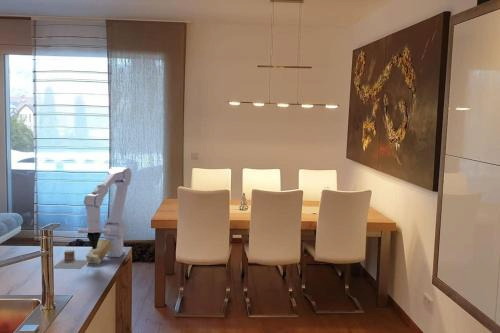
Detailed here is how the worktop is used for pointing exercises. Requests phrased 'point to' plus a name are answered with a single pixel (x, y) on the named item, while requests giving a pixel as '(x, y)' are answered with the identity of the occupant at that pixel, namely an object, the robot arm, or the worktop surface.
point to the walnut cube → (69, 255)
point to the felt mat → (71, 264)
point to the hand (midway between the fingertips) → (94, 248)
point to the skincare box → (99, 252)
